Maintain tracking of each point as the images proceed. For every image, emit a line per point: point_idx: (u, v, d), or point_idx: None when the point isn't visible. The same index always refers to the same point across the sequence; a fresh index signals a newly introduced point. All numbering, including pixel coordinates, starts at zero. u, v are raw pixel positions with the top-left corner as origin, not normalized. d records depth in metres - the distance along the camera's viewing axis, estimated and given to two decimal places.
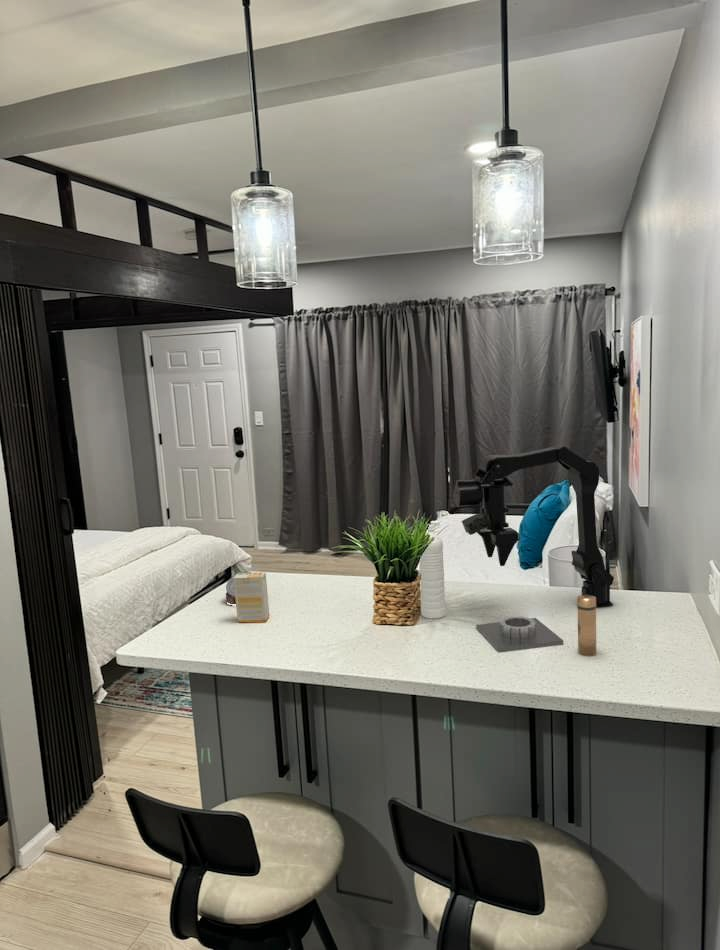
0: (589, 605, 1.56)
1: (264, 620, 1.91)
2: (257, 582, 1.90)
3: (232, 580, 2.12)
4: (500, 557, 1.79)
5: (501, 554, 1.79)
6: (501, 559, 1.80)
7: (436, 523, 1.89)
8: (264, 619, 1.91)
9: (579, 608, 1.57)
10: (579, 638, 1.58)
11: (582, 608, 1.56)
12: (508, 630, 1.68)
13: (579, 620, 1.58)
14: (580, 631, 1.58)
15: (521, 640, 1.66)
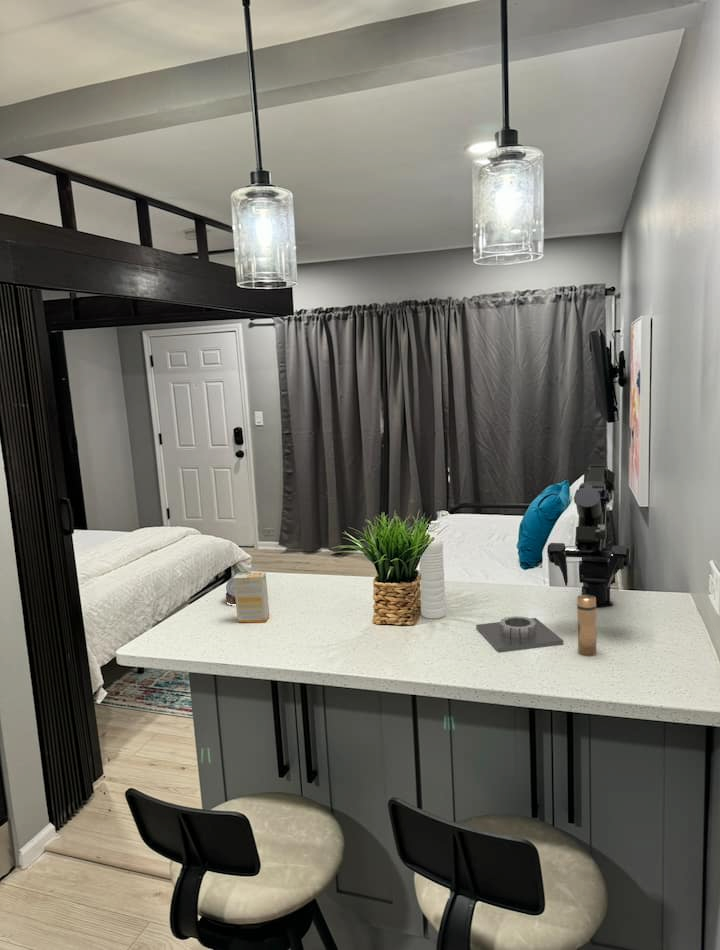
0: (589, 605, 1.56)
1: (264, 620, 1.91)
2: (257, 582, 1.90)
3: (232, 580, 2.12)
4: (610, 575, 1.63)
5: (612, 574, 1.64)
6: (610, 579, 1.63)
7: (436, 523, 1.89)
8: (264, 619, 1.91)
9: (579, 608, 1.57)
10: (579, 638, 1.58)
11: (582, 608, 1.56)
12: (508, 630, 1.68)
13: (579, 620, 1.58)
14: (580, 631, 1.58)
15: (521, 640, 1.66)
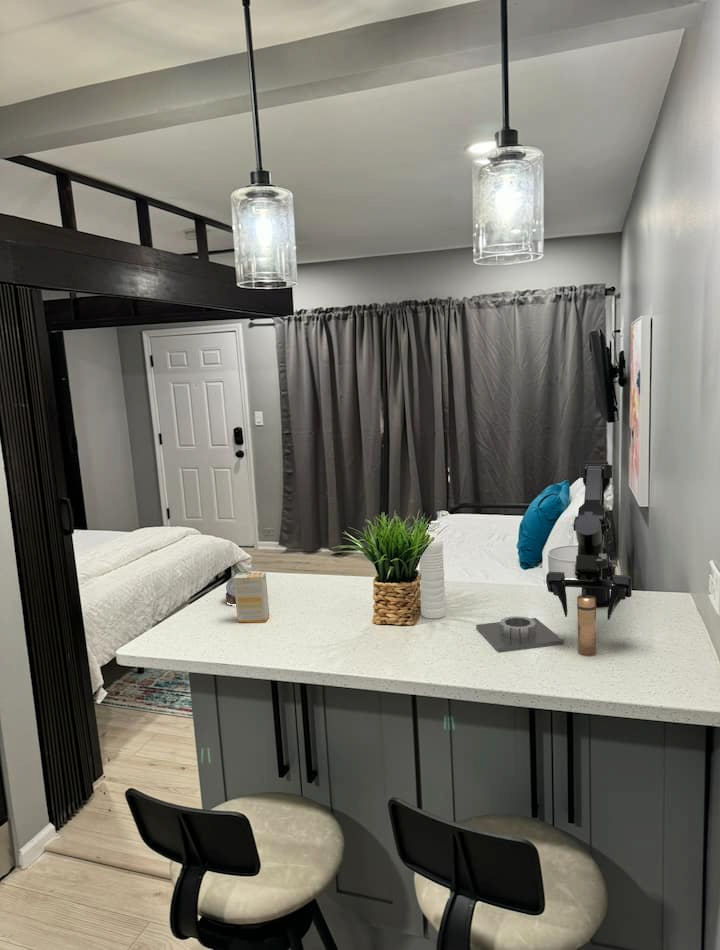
0: (589, 605, 1.56)
1: (264, 620, 1.91)
2: (257, 582, 1.90)
3: (232, 580, 2.12)
4: (612, 607, 1.57)
5: (613, 605, 1.58)
6: (612, 610, 1.57)
7: (436, 523, 1.89)
8: (264, 619, 1.91)
9: (579, 608, 1.57)
10: (579, 638, 1.58)
11: (582, 608, 1.56)
12: (508, 630, 1.68)
13: (579, 620, 1.58)
14: (581, 631, 1.58)
15: (521, 640, 1.66)
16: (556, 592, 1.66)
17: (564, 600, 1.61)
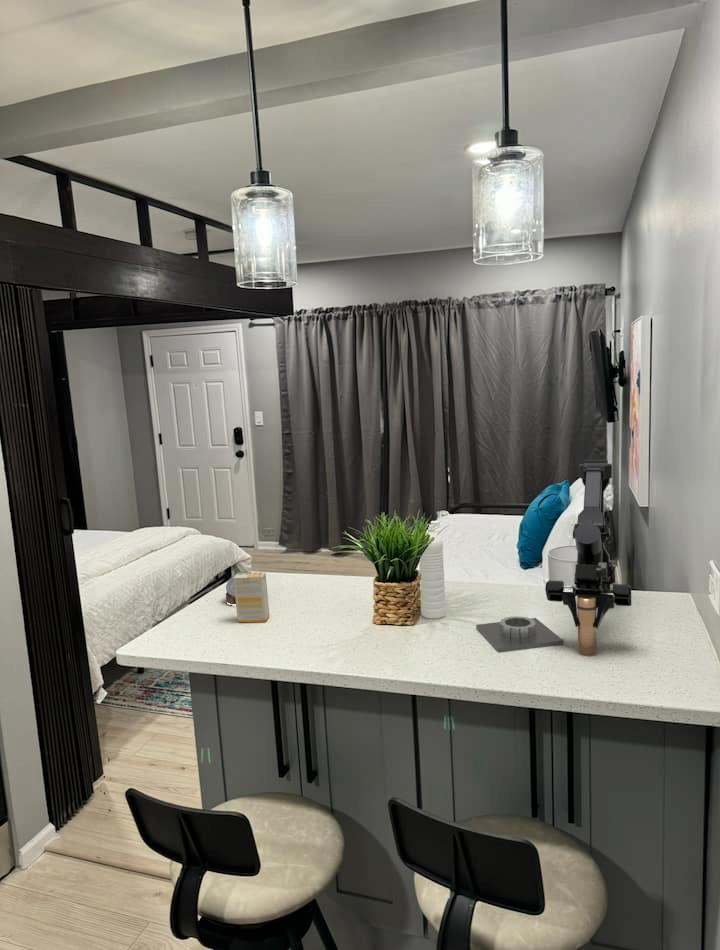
0: (589, 605, 1.56)
1: (264, 620, 1.91)
2: (257, 582, 1.90)
3: (232, 580, 2.12)
4: (600, 615, 1.57)
5: (602, 613, 1.57)
6: (600, 619, 1.57)
7: (436, 523, 1.89)
8: (264, 619, 1.91)
9: (579, 608, 1.57)
10: (579, 638, 1.58)
11: (582, 608, 1.56)
12: (508, 630, 1.68)
13: (579, 620, 1.58)
14: (580, 631, 1.58)
15: (521, 640, 1.66)
16: (566, 602, 1.63)
17: (574, 610, 1.59)
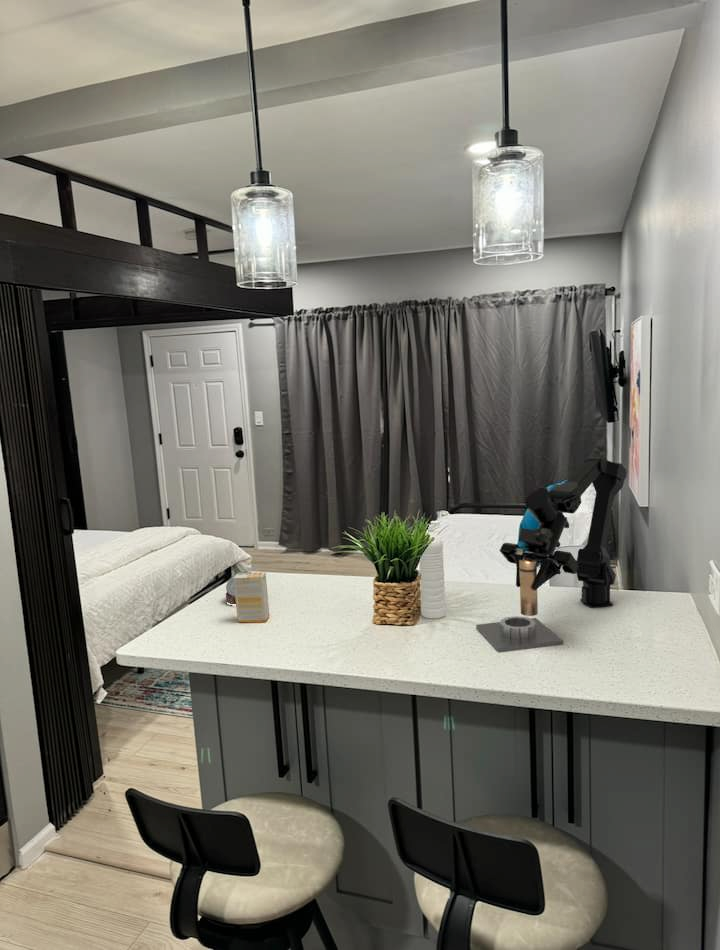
0: (526, 567, 1.64)
1: (264, 620, 1.91)
2: (257, 582, 1.90)
3: (232, 580, 2.12)
4: (539, 578, 1.64)
5: (541, 577, 1.64)
6: (538, 582, 1.64)
7: (436, 523, 1.89)
8: (264, 619, 1.91)
9: (519, 569, 1.66)
10: (520, 598, 1.67)
11: (520, 570, 1.65)
12: (508, 630, 1.68)
13: None
14: (520, 592, 1.66)
15: (521, 640, 1.66)
16: None
17: None
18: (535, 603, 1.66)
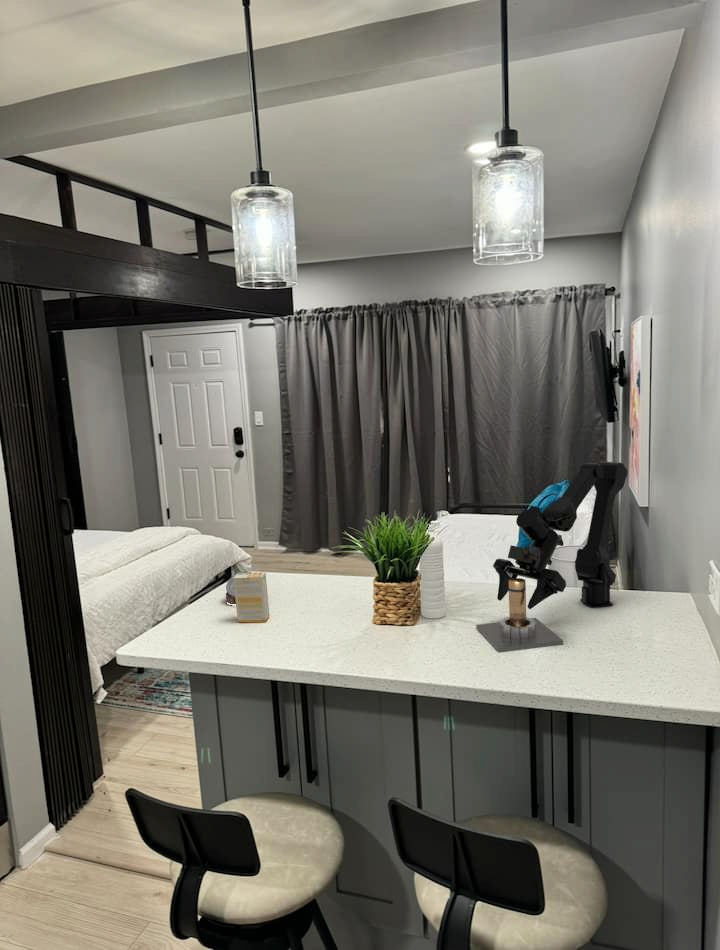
0: (514, 587, 1.68)
1: (264, 620, 1.91)
2: (257, 582, 1.90)
3: (232, 580, 2.12)
4: (534, 597, 1.66)
5: (537, 596, 1.66)
6: (534, 601, 1.66)
7: (436, 523, 1.89)
8: (264, 619, 1.91)
9: None
10: (509, 617, 1.71)
11: (509, 589, 1.69)
12: (508, 630, 1.68)
13: (509, 600, 1.71)
14: (509, 611, 1.71)
15: (521, 640, 1.66)
16: None
17: (501, 585, 1.74)
18: (523, 623, 1.69)
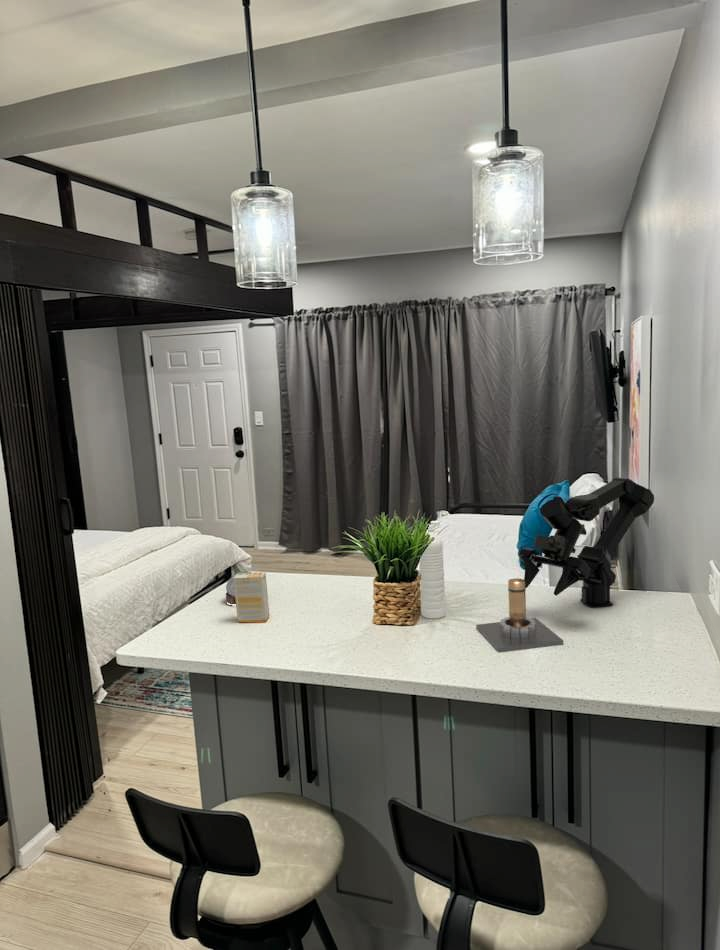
0: (514, 587, 1.68)
1: (264, 620, 1.91)
2: (257, 582, 1.90)
3: (232, 580, 2.12)
4: (560, 584, 1.72)
5: (563, 583, 1.72)
6: (559, 587, 1.72)
7: (436, 523, 1.89)
8: (264, 619, 1.91)
9: (508, 589, 1.70)
10: (509, 617, 1.71)
11: (509, 590, 1.69)
12: (508, 630, 1.68)
13: None
14: (509, 611, 1.71)
15: (521, 640, 1.66)
16: None
17: (526, 573, 1.80)
18: (523, 623, 1.69)
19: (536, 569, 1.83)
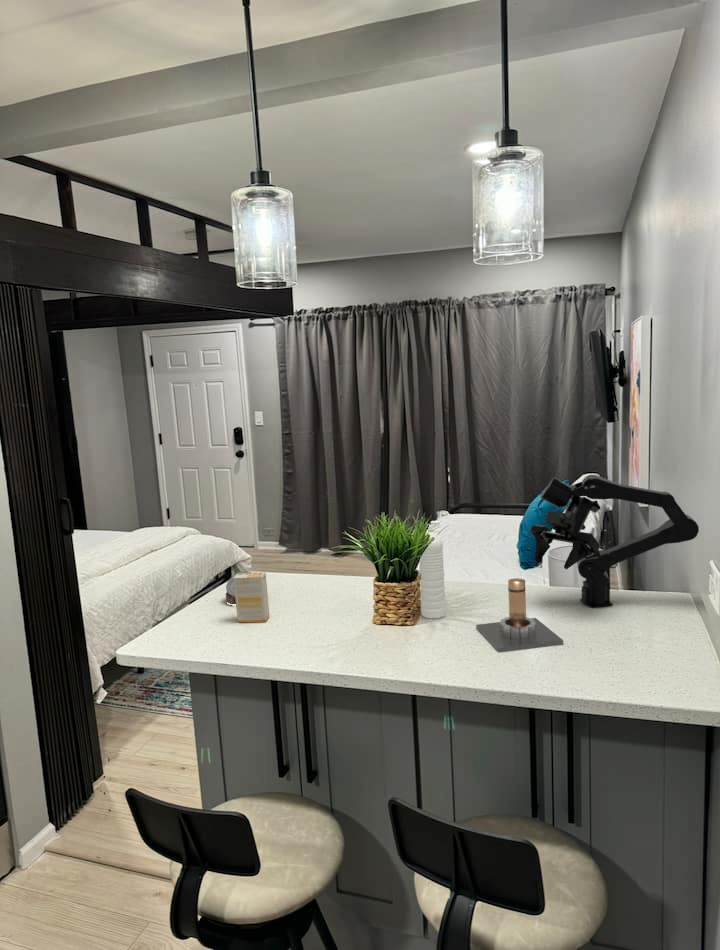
0: (514, 587, 1.68)
1: (264, 620, 1.91)
2: (257, 582, 1.90)
3: (232, 580, 2.12)
4: (570, 558, 1.79)
5: (573, 557, 1.79)
6: (570, 561, 1.79)
7: (436, 523, 1.89)
8: (264, 619, 1.91)
9: (508, 589, 1.70)
10: (509, 617, 1.71)
11: (509, 590, 1.69)
12: (508, 630, 1.68)
13: None
14: (509, 611, 1.71)
15: (521, 640, 1.66)
16: None
17: (538, 549, 1.87)
18: (523, 623, 1.69)
19: (547, 545, 1.90)
